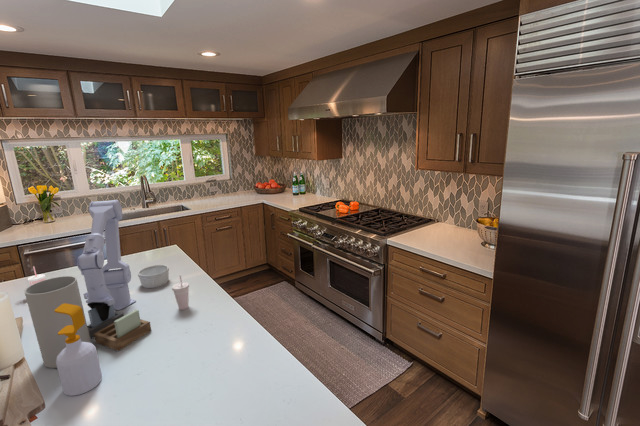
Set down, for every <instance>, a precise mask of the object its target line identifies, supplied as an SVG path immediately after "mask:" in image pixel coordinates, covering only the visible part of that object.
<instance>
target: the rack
mask: <svg viewBox="0 0 640 426" xmlns="http://www.w3.org/2000/svg"><path fill="white" fill-rule="evenodd" d="M140 321H141V325H140V326H139V327H137V328H135V329H134V330H132V331H130V332H128V333H127V334H125V335H123V336H122V337H120V338H118V339H117V334H116V330H115V325H114V323H112V324H111V325H109V326H107V327H105V328H103V329H101V330H99V331H98V332H96V333H94V338H93V339H94V342H95V343H96V344H98V345H101V346H104V347H106V348H109V349H112V350H114V351H117V352H120V351H121V350H123V349H124V348H126V347H127V346H129V345H131V344H132V343H134V342H135V341H137V340H138V339H141V338H142V337H143V336H145V335H147V334H148V333H150V332H151V331H152V326H151V322H150V321H148V320H145V319H141V318H140Z"/></svg>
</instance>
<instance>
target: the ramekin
mask: <svg viewBox="0 0 640 426" xmlns="http://www.w3.org/2000/svg"><path fill="white" fill-rule="evenodd" d="M169 269H170V268H169V266H168V265H166V264H155V265H154V264H153V265H149V266H146V267H144V268H141V269H140V270H138V272H137V276H138V278H139V281H140V284H141V286H142V287H144V288H145V289H157V288H159V287H161V286H164V285H166V284H167V283H168V281H169V275H170V274H169V271H170V270H169Z"/></svg>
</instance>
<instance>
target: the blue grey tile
mask: <svg viewBox="0 0 640 426" xmlns="http://www.w3.org/2000/svg"><path fill="white" fill-rule="evenodd" d="M115 311H116V310H115V309H114V306H113V305H110V309H109V316H108V319H110V318H112V317H114V316H115ZM87 313H88V317H89V321H90V324H91V327H92V328H93V327H95V326H97V325H99V324H101V323H103V322H105V321H107V320H108V319H106V320H104V321H102V320H101V319H100V316H99V313H98V311H97V310H96V309H95V308H93V309H91V308H90V309H89V310H87Z"/></svg>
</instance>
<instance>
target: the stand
mask: <svg viewBox="0 0 640 426" xmlns="http://www.w3.org/2000/svg"><path fill="white" fill-rule="evenodd" d="M114 311H115V316H114V317H112V318H110V319H108V320H107V321H105V322H103V323H101V324H99V325H97V326H95V327H93V328H92V327H91V323H90V324H87V327H88V332H89V336H90V340H91V339H95V338H94V333H96V332H98V331H99V330H101V329H103V328H105V327H107V326H109V325H111V324H112V323H114V321H115V320H117V319H119V318H121V317H123V316H125V314H124V312H120V311H118V310H114Z"/></svg>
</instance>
